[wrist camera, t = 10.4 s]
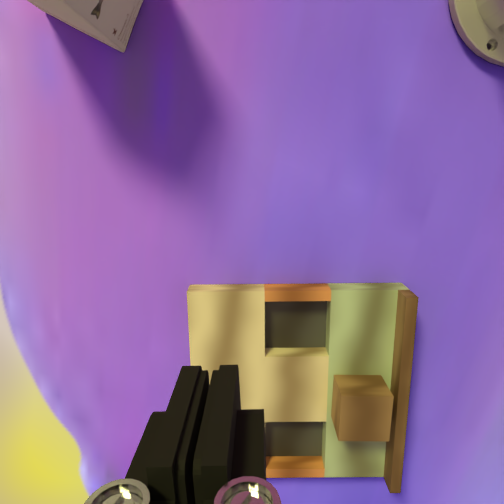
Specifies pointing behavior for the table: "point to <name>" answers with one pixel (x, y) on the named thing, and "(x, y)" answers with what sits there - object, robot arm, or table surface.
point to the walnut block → (361, 408)
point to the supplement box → (96, 17)
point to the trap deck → (310, 365)
